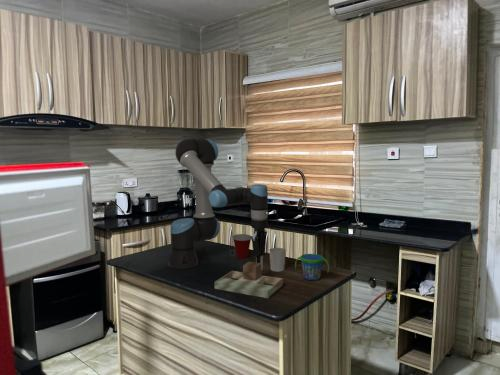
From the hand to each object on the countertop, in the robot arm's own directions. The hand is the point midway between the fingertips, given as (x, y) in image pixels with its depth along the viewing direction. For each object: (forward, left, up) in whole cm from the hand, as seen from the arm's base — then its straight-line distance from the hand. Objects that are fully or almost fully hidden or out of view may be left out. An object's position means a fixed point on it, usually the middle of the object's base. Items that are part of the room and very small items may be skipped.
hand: (259, 269), depth 174 cm
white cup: (+2, +16, -5) cm, 17 cm away
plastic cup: (-23, +27, -5) cm, 35 cm away
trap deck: (0, -11, -4) cm, 12 cm away
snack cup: (+21, +11, -5) cm, 24 cm away
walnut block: (0, -8, -1) cm, 8 cm away
